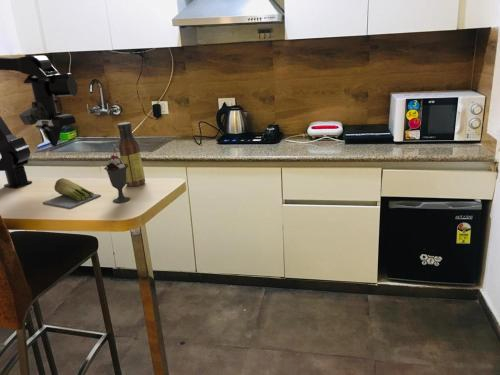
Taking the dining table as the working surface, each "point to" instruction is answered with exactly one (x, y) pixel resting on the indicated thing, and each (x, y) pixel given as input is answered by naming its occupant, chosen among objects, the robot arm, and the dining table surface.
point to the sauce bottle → (130, 155)
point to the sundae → (117, 176)
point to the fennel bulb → (71, 189)
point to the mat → (69, 201)
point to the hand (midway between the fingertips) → (54, 146)
